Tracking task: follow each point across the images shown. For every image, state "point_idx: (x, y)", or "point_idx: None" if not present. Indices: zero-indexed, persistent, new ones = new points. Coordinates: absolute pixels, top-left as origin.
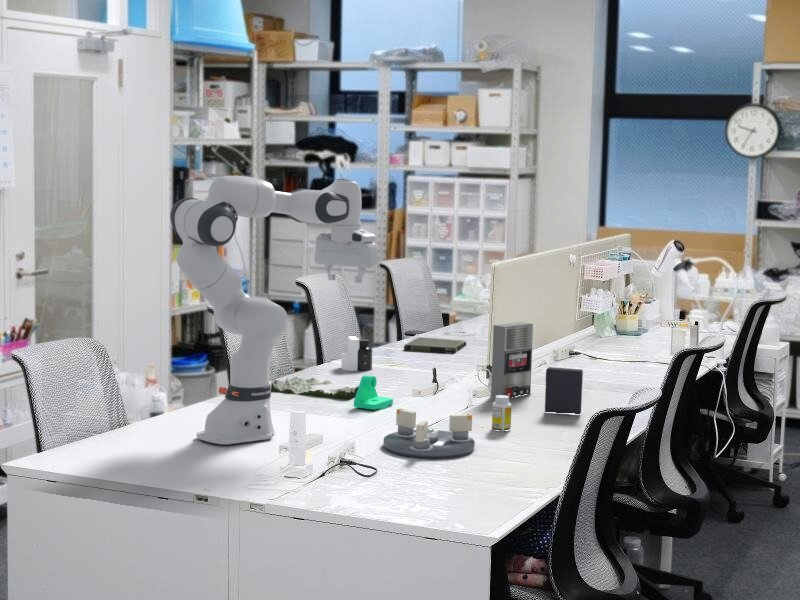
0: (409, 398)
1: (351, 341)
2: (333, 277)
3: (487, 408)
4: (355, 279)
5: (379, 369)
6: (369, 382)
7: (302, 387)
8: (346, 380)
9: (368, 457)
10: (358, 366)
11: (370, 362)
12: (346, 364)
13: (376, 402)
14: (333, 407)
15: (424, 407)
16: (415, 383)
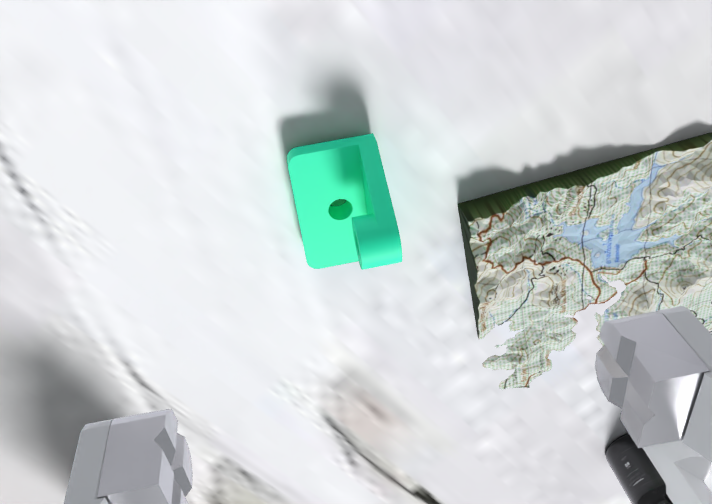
0: (343, 349)
1: (698, 499)
2: (625, 375)
3: (93, 409)
4: (151, 443)
5: (608, 487)
6: (355, 225)
7: (676, 216)
8: None
9: None
10: (639, 448)
11: (619, 476)
12: None
13: (310, 191)
14: (446, 102)
15: (225, 304)
16: (448, 458)
